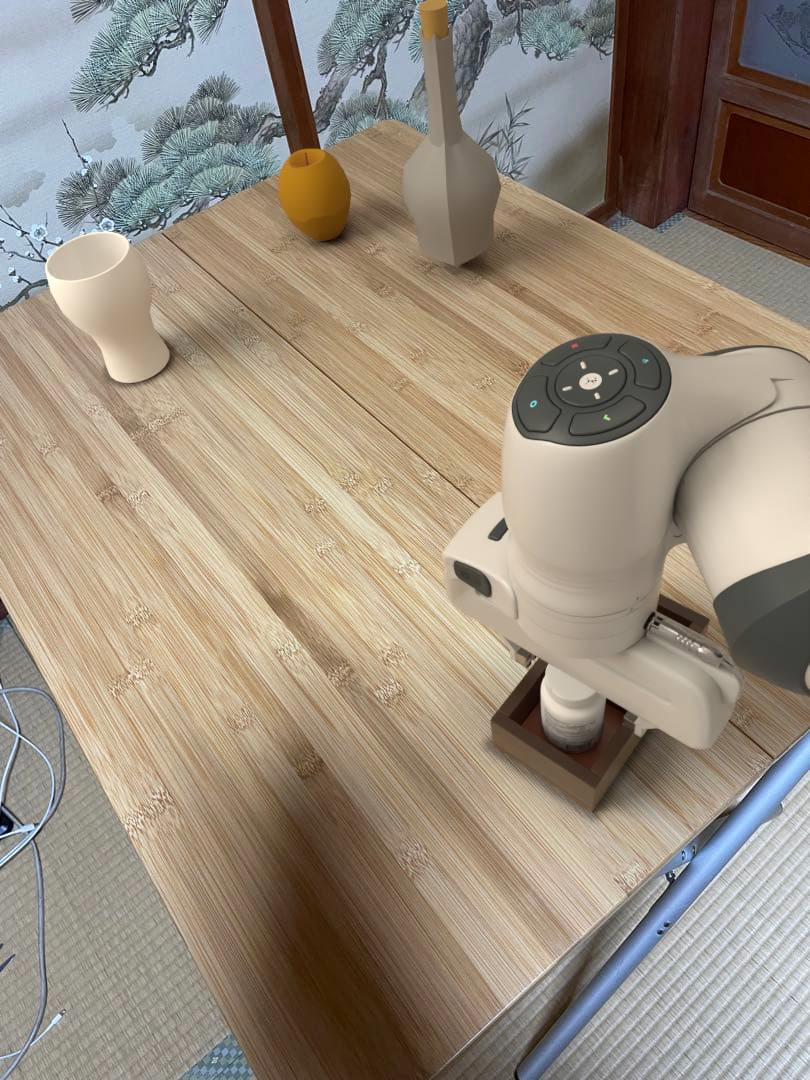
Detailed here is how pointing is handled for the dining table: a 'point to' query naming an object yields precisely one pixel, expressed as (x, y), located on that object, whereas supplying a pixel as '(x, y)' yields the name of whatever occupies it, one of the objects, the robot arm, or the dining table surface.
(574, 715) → the pill bottle
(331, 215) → the orange candle
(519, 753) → the holder
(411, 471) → the dining table surface
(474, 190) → the bottle
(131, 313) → the cup
